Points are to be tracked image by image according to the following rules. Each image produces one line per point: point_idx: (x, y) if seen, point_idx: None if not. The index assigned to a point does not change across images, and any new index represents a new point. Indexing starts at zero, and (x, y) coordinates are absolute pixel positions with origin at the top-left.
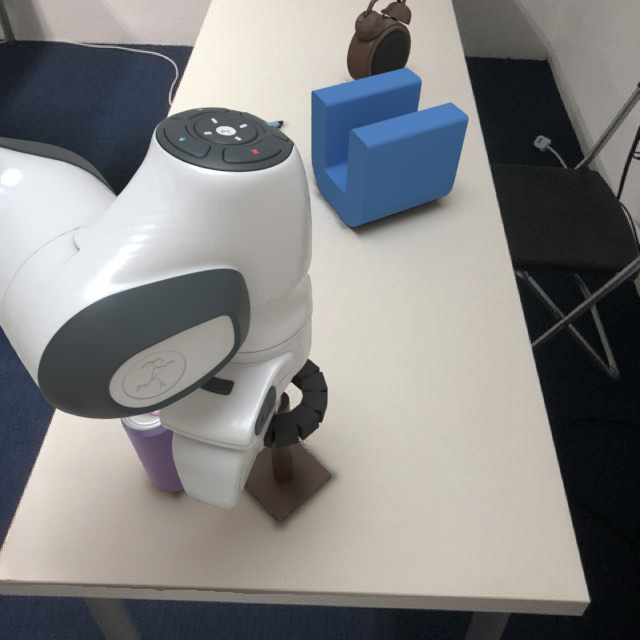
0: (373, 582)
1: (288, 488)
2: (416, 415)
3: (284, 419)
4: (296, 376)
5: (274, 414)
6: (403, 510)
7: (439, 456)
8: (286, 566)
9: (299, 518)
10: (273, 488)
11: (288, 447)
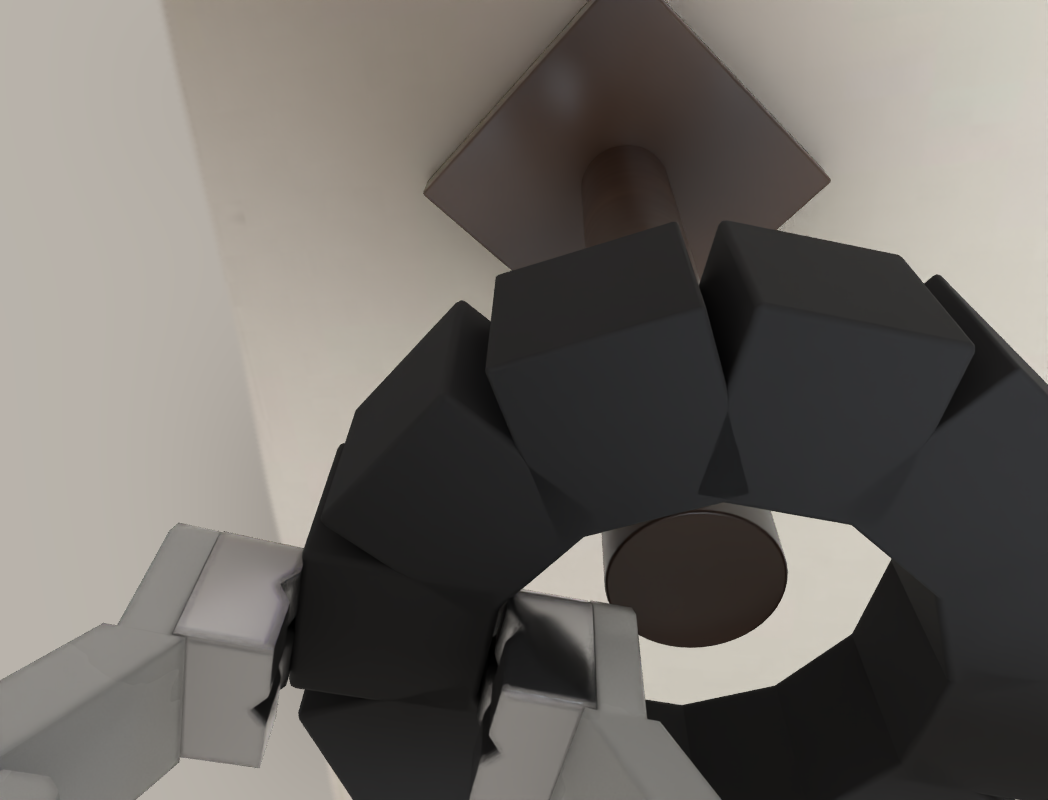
0: (285, 476)
1: (557, 214)
2: (859, 604)
3: (444, 756)
4: (843, 772)
5: (478, 704)
6: None
7: (701, 651)
8: (276, 219)
9: (456, 250)
10: (552, 154)
11: None
